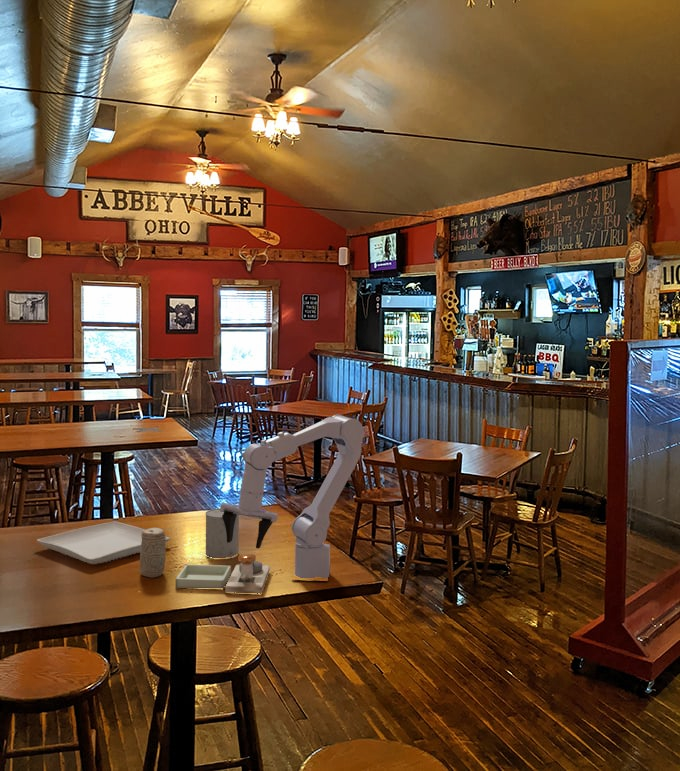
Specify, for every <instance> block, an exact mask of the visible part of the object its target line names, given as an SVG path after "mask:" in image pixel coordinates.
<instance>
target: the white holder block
mask: <svg viewBox="0 0 680 771" xmlns="http://www.w3.org/2000/svg"><path fill="white" fill-rule="evenodd" d="M269 571H271V565H267V564H265V565H263V563H262V562H260V561H256V560H255V561H253V583H248V582H241V562H240V563H239V564H236V565H235V566H234V569H233V570H232V571H231V576H230V578H229V580H228V582H227V584H226V586H225V588H224V590H225V591H224V592H234V593H235V592H236V593H257V594H258V593H260V594H261V593H262V591H263V592H264V590H263V588H264V589H265V587H264V585H265V582H266V579H267V577H268V578H269V576H268V574H269ZM269 575H270V574H269ZM267 580H268V579H267ZM266 583H267V582H266ZM265 586H266V585H265ZM262 594H263V593H262Z"/></svg>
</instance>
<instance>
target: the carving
mask: <svg viewBox="0 0 680 771" xmlns="http://www.w3.org/2000/svg"><path fill="white" fill-rule="evenodd" d="M141 537H142V542H141V551H140V553H139V554H140V555H139V571H140V572H139V573H140V574H141V575H142V576H144V577H146V578H150V579H151V578H152V579H153V578H158V577H161V576H162V575H163V573H164V570H165V565H166V543H167V542H166V537H167V536H166V533H165V531H164V529H163V528H160V527H149V528H147V529H145V530H144V531H143V532H142V535H141ZM165 542H166V543H165Z"/></svg>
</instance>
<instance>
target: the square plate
mask: <svg viewBox="0 0 680 771" xmlns="http://www.w3.org/2000/svg"><path fill="white" fill-rule="evenodd" d="M144 530H146V529H144V528H141V527H138V526H135V525H131V524H127V523H123V522H120V521H116V520H115V521H114V520H113V521H109V522H103V523H100V524H94V525H89V526H84V527H79V528H77V529H71V530H69V531H64V532H59V533H57V534H52V535H49V536H45V537H41V538H37V539H36V541H37V542H38V543H39V544H41V545H42V546H43V547H45V548H47V549H50V550H53V551H55V552H58V553H59V552H60V554H61V555H65V556H67V555H68V556H67V557H71V558H72V559H73V558H74V559H76V560H78V559H79V561H81V562H84V563H86V562H87V564H91V565H99V564H103V563H104V562H105V563H108V561H109V562H112V561H111V560H113V561H115V559H116V560H119V559H118V558H120V559H123V558H126V557H129V555H130V556H132V554H133V555H136V553H137V554H140V551H141V542H142V537H141V535H142V532H143V531H144ZM165 537H166V542H165V544H166V543H168V542H169V541H170V540H171V538H170V537H168V536H165ZM122 557H123V558H122ZM98 563H99V564H98Z"/></svg>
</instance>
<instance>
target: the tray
mask: <svg viewBox="0 0 680 771" xmlns="http://www.w3.org/2000/svg"><path fill="white" fill-rule="evenodd" d="M230 574H232V565H224V564H223V565H222V564H221V565H218V564H217V565H215V564H189V563H188V564H187V563H186V564H185V565H184V566H183V568H182V569H181V571H180V572H179V573H178V574H177V576H176V578H175V589H176V588H192V589H191V590H194V589H193V588H224V586H225V584H226V582H227V580H228V578H229V576H230ZM224 589H225V588H224Z"/></svg>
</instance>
